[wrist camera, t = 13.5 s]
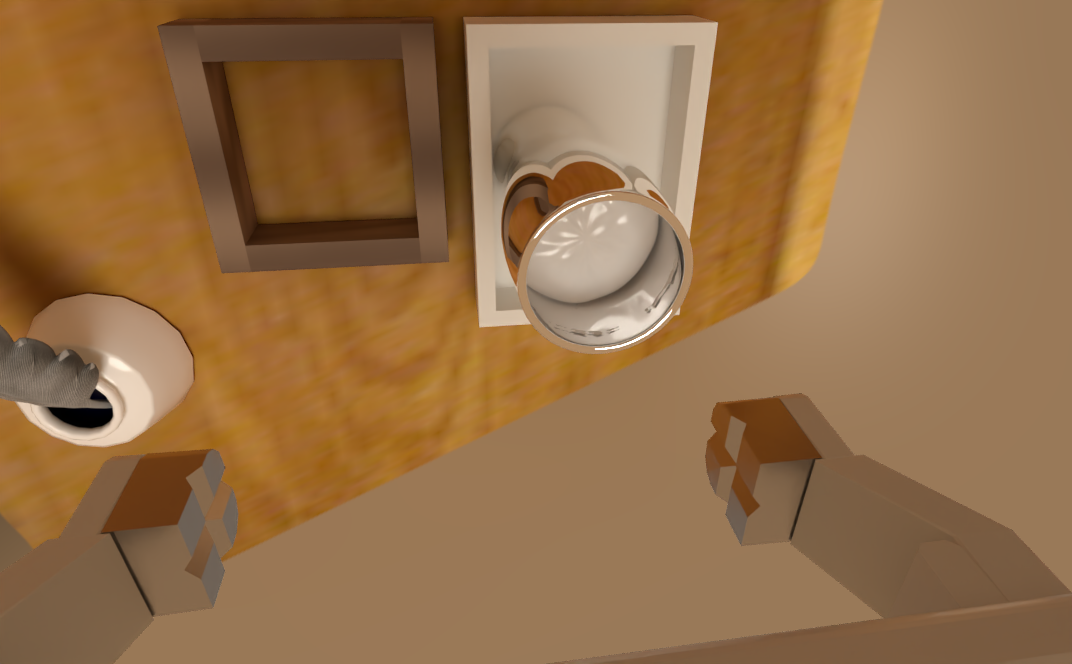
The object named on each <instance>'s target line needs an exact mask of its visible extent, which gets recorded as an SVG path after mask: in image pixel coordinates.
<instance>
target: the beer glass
mask: <svg viewBox="0 0 1072 664" xmlns="http://www.w3.org/2000/svg"><path fill="white" fill-rule="evenodd" d="M493 173H494V177H495V180H496V183H497V185H498V187H499V189H500V191H501V192H502V194H503V199H502V204H501V214H500V236H501V243H502V250H503V255H504V259H505V262H506V265H507V269H508V272H509V275H510V277H511V280H512V282H513V285H514V287H515V290H516V292H517V294H518V296H519V300H520V303H521V306H522V309H523V311H524V313H525V315H526V317H527V319H528V320H529V322H530V323H531V324H532V326H533V327H534V328H535V329H536V330H537V331H538V332H539V333H540V334H541V335H542V336H543V337H545V338H546V339H547V340H549V341H550V342H552V343H554V344H556V345H558V346H560V347H562V348H565V349H567V350H571V351H575V352H580V353H588V354H602V353H611V352H616V351H620V350H624V349H627V348H629V347H632V346H634V345H637V344H639V343H641V342H643V341H645V340H646V339H648V338H649V337H651V336H652V335H654V334H655V333H657V332H658V331H659V330H660V329H661V328H663V327H664V326H665V325H666V324H667V323H668V322H669V321H670V320H671V318H672V317H673V316H674V315H675V313H676V312H677V311H678V309H679V308H680V306H681V304H682V303H683V301H684V299H685V297H686V295H687V292H688V289H689V286H690V283H691V279H692V273H693V254H692V248H691V244H690V241H689V238H688V235H687V233H686V231H685V229H684V227H683V226H682V224H681V223H680V221H679V220H678V219H677V218H676V216H675V215H674V213H673V211H672V210H671V208H670V206H669V205H668V203H667V202H666V200H665V198H664V197H663V195H662V194H661V192H660V191H659V190H658V188H657V187H656V186H655V185H654V183H653V182H652V181H651V179H650V178H649V177H648V176H647V175H646V174H645V173H644V172H643V171H642V170H641V169H640V168H639V167H638V166H637V165H636V164H635V163H633V162H632V161H631V160H630V159H629V158H627V157H626V156H624V155H622V154H621V153H619V152H617V151H615V150H614V149H612V148H610V147H608V146H606V145H604V144H601V143H599V140H598V137H597V135H596V133H595V132H594V130H593V128H592V127H591V126H590V124H589V123H588V122H587V121H586V120H585V119H584V118H583V117H582V116H580V115H579V114H577V113H576V112H574V111H572V110H570V109H567V108H564V107H560V106H552V105H547V106H539V107H534V108H531V109H529V110H526V111H524V112H522V113H521V114H519V115H517V116H516V117H515V118H514V119H512V120H511V121H510V122H509V123H508V124H507V125H506V127H505V128H504V129H503V131H502V132H501V134H500V135H499V137H498V140H497V142H496V145H495V148H494V152H493Z"/></svg>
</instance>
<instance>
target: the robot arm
mask: <svg viewBox="0 0 1072 664" xmlns="http://www.w3.org/2000/svg"><path fill="white" fill-rule="evenodd" d="M711 422H712V424H713V426H714V428H715V430H716V431H717V432H716V433H715V434H714V435H713V436H712V437H711V438H710V439H709V440H708V441H707V448H706V455H705V458H706V468H707V473H708V477H709V480H710V484H711V486H712V488H713V490H714V492H715V494H716V495H717V496H718V497H720V498H721V499H723V500H725V501H726V502H728V505H727V510H726V516H727V519H728V520H729V523H730V525H731V527H732V528H733V530H734V533H735V534H736V536H737V538H738V540H739V542H740V544H741V546H744V545H756V544H767V543H778V542H789V541H791V543H790V544H791V545H793V546H794V547H795V548H796V549H798V550H799V551H800V552H801V553H803V554H804V555H805V556H806V557H808V558H809V559H810V560H811V561H813V562H814V563H815V564H816V565H818V566H819V567H820V568H821V569H823V570H824V571H825V572H826V573H828V574H829V575H830V576H832V577H833V578H834V579H835V580H836V581H838V582H839V583H840V584H841V585H843V586H844V587H845V588H847V589H848V590H849V591H850V592H852V593H853V594H854V595H855V596H857V597H858V598H859V599H860V600H862V601H863V602H864V603H865V604H867V605H868V606H869V607H871V608H872V609H873V610H874V611H875V612H877V613H878V614H879V615H880V616H882V617H883V619H876V620H869V621H861V622H854V623H846V624H839V625H831V626H824V627H816V628H809V629H801V630H795V631H786V632H779V633H772V634H764V635H756V636H749V637H742V638H735V639H727V640H719V641H712V642H705V643H697V644H689V645H682V646H674V647H668V648H660V649H652V650H645V651H638V652H630V653H622V654H616V655H608V656H601V657H593V658H586V659H578V660H570V661H564V662H555V663H548V664H1072V593H1071V591H1069V589H1068V588H1067V587H1066V586H1065V585H1064V584H1063V583H1062V582H1061V581H1060V580H1059V579H1058V578H1057V577H1056V576H1055V575H1054V574H1053V572H1052V571H1051V570H1050V569H1049V568H1048V567H1047V566H1046V565H1045V564H1044V563H1043V562H1042V561H1041V560H1040V559H1039V558H1038V557H1037V556H1036V555H1035V553H1033V551H1032V550H1031V549H1030V548H1029V547H1028V546H1027V545H1026V544H1025V543H1024V542H1023V541H1022V540H1021V539H1020V538H1019V537H1018V536H1017V534H1016V533H1015V532H1014V531H1013V530H1011V529H1009V528H1007V527H1005V526H1003V525H1001V524H999V523H997V522H995V521H993V520H991V519H989V518H987V517H986V516H984V515H982V514H980V513H977V512H976V511H974V510H972V509H970V508H968V507H966V506H964V505H962V504H960V503H958V502H956V501H954V500H952V499H950V498H948V497H946V496H944V495H942V494H940V493H938V492H936V491H934V490H932V489H930V488H928V487H926V486H924V485H922V484H920V483H918V482H916V481H914V480H912V479H910V478H908V477H906V476H904V475H902V474H901V473H898V472H897V471H894V470H893V469H890V468H889V467H887V466H885V465H883V464H881V463H879V462H877V461H875V460H873V459H871V458H869V457H867V456H865V455H856V456H855V455H854V454H853V452H852V451H851V450H850V449H849V447H848V446H847V445H846V444H845V443H844V441H843V440H842V439H841V437H840V436H839V435H838V434H837V432H836V431H835V430H834V429H833V427H832V426H831V425H830V424H829V422H828V421H827V420H826V419H825V417H824V416H823V415H822V414H821V412H820V411H819V410H818V409H817V407H816V406H815V405H814V404H813V402H812V401H811V400H810V399H809V397H808V396H806V395H804V394H802V393H799V394H791V395H781V396H774V397H769V398H759V399H749V400H738V401H728V402H718V403H717V404H716V406H715V407H714V409H713V413H712V418H711ZM224 469H225V466H224V463H223V461H222V458H221V456H220V453H219V452H218V451H216V450H214V449H206V450H192V451H177V452H163V453H149V454H146V455H129V456H115V457H112V458H110V459H109V460H107V461H106V462H105V463H104V464H103V465H102V467H101V469H100V470H99V472H98V474H97V475H96V477H95V479H94V480H93V482H92V484H91V485H90V487H89V489H88V490H87V492H86V494H85V495H84V497H83V499H82V500H81V502H80V504H79V505H78V507H77V509H76V510H75V512H74V514H73V515H72V517H71V519H70V520H69V522H68V524H67V525H66V527H65V529H64V530H63V532H62V534H61V535H60V537H59V539H50V540H47V541H45V542H44V543H42V544H41V545H39V546H38V547H37V548H35V549H34V550H32V551H31V552H30V553H28V554H27V555H25V556H24V557H22V558H21V559H19V560H18V561H17V562H15V563H14V564H12V565H11V566H9V567H8V568H7V569H5V570H4V571H2V572H1V573H0V664H113V663H115V661H116V660H117V659H118V658H119V657H120V656H121V655H122V654H123V653H124V652H125V651H126V649H127V648H128V647H129V646H130V645H131V644H132V643H133V642H134V641H135V640H136V639H137V638H138V636H139V635H140V634H141V633H142V632H143V631H144V630H145V629H146V628H147V627H148V626H149V625H150V623H151V622H152V621H153V620H154V619H153V617H155V616H162V615H169V614H176V613H182V612H190V611H196V610H203V609H210V608H213V607H214V604H215V601H216V598H217V594H218V591H219V588H220V585H221V582H222V579H223V576H224V572H225V570H224V567H223V564H222V562H221V559H220V558H221V557H222V556H223V555H224V554H225V553H227V552H228V551H229V550H230V549H231V548H232V547H233V543H234V540H235V536H236V533H237V521H238V509H237V502H236V498H235V495H234V492H233V489H232V488H231V487H230V486H228V485H227V484H225V483H224V482H223V481H221V478H222V475H223V472H224Z"/></svg>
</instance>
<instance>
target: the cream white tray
mask: <svg viewBox="0 0 1072 664" xmlns="http://www.w3.org/2000/svg"><path fill="white" fill-rule="evenodd" d="M463 26H464V48H465V69H466V91H467V113H468V135H469V157H470V179H471V200H472V222H473V244H474V266H475V288H476V303H477V312H478V320H479V327H491V326H507V325H523V324H531V323H530V322H529V320H528V319H527V317H526V315H525V313H524V311H523V309H522V306H521V303H520V300H519V296H518V294H517V292H516V290H515V287H514V285H513V282H512V280H511V277H510V275H509V272H508V269H507V265H506V262H505V259H504V255H503V250H502V243H501V236H500V214H501V204H502V199H503V194H502V192H501V191H500V189H499V187H498V185H497V183H496V180H495V177H494V173H493V152H494V148H495V145H496V142H497V140H498V137H499V135H500V134H501V132H502V131H503V129H504V128H505V127H506V125H507V124H508V123H509V122H510V121H511V120H512V119H514V118H515V117H516V116H517V115H519V114H521V113H522V112H524V111H526V110H529V109H531V108H534V107H539V106H547V105H552V106H560V107H564V108H567V109H570V110H572V111H574V112H576V113H577V114H579V115H580V116H582V117H583V118H584V119H585V120H586V121H587V122H588V123H589V124H590V126H591V127H592V128H593V130H594V132H595V133H596V135H597V137H598V140H599V143H601V144H604V145H606V146H608V147H610V148H612V149H614V150H615V151H617V152H619V153H621V154H622V155H624V156H626V157H627V158H629V159H630V160H631V161H632V162H633V163H635V164H636V165H637V166H638V167H639V168H640V169H641V170H642V171H643V172H644V173H645V174H646V175H647V176H648V177H649V178H650V179H651V181H652V182H653V183H654V185H655V186H656V187H657V188H658V190H659V191H660V192H661V194H662V195H663V197H664V198H665V200H666V202H667V203H668V205H669V206H670V208H671V210H672V211H673V213H674V215H675V216H676V218H677V219H678V220H679V221H680V223H681V224H682V226H683V227H684V229H685V231H686V233H687V235H688V238H689V237H690V230H691V222H692V214H693V207H694V199H695V192H696V184H697V177H698V169H699V162H700V154H701V147H702V139H703V132H704V124H705V116H706V109H707V101H708V94H709V86H710V79H711V71H712V64H713V56H714V49H715V41H716V34H717V26H718V22H715V21H711V20H708V19H705V18H701V17H698V16H694V15H662V16H519V17H463ZM679 312H680V308H679V309H678V311H677V312H676V313H675V315H679Z"/></svg>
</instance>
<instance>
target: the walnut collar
mask: <svg viewBox="0 0 1072 664" xmlns="http://www.w3.org/2000/svg"><path fill="white" fill-rule="evenodd" d="M157 27H158V31H159V35H160V38H161V42H162V46H163V50H164V54H165V58H166V61H167V65H168V69H169V73H170V77H171V81H172V84H173V88H174V92H175V96H176V100H177V104H178V107H179V111H180V115H181V119H182V123H183V127H184V130H185V134H186V138H187V142H188V146H189V150H190V153H191V157H192V161H193V165H194V169H195V172H196V176H197V180H198V184H199V188H200V192H201V195H202V199H203V203H204V207H205V211H206V215H207V218H208V222H209V226H210V230H211V234H212V238H213V241H214V245H215V249H216V253H217V257H218V261H219V264H220V268H221V272H222V273H236V272H256V271H276V270H296V269H316V268H336V267H356V266H376V265H396V264H416V263H436V262H449V253H448V235H447V220H446V205H445V190H444V175H443V160H442V145H441V130H440V115H439V100H438V86H437V71H436V56H435V41H434V26H433V17H376V18H233V19H178V20H174V21H171V22H168V23H165V24H162V25H158V26H157ZM364 59H403V65H404V76H405V87H406V98H407V109H408V120H409V131H410V142H411V153H412V164H413V175H414V186H415V197H416V208H417V218H405V219H381V220H357V221H333V222H309V223H286V224H262V225H258V222H257V218H256V213H255V209H254V204H253V200H252V195H251V191H250V186H249V182H248V177H247V173H246V168H245V164H244V159H243V155H242V150H241V146H240V141H239V136H238V132H237V127H236V123H235V118H234V114H233V109H232V105H231V100H230V96H229V91H228V87H227V82H226V78H225V73H224V69H223V64H222V62H223V61H294V60H364Z"/></svg>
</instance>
